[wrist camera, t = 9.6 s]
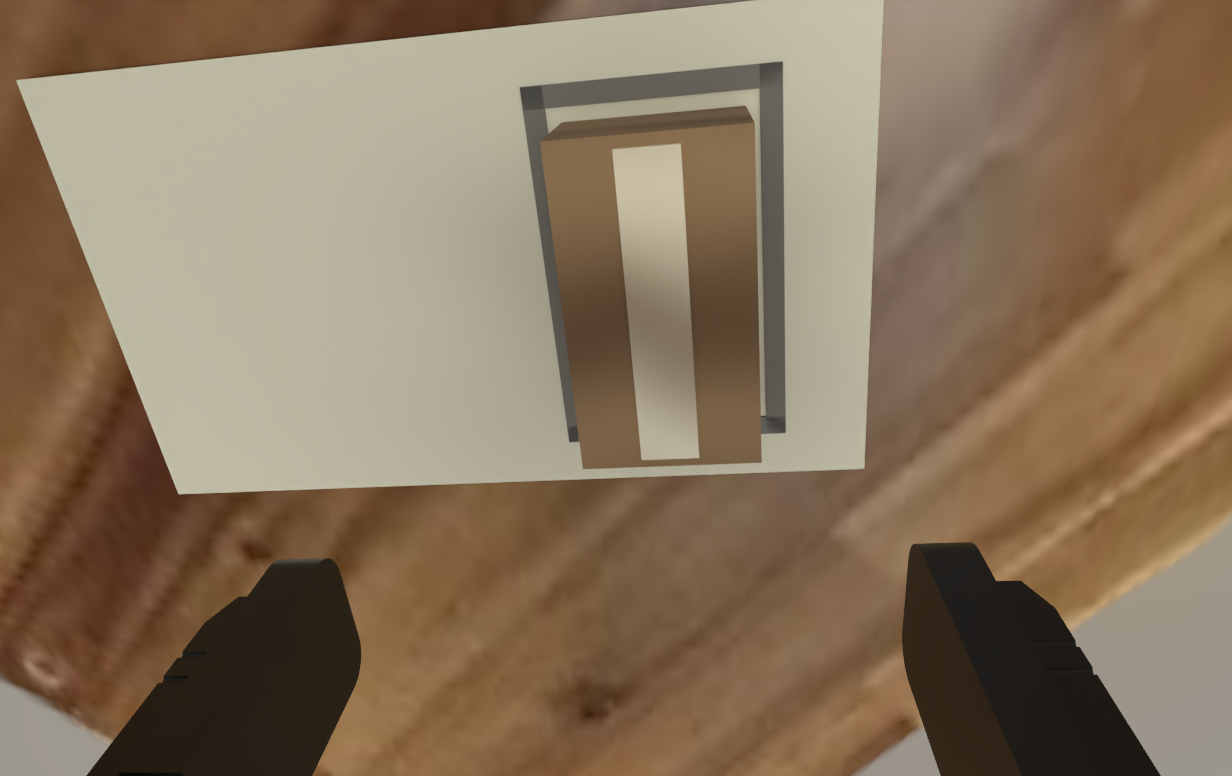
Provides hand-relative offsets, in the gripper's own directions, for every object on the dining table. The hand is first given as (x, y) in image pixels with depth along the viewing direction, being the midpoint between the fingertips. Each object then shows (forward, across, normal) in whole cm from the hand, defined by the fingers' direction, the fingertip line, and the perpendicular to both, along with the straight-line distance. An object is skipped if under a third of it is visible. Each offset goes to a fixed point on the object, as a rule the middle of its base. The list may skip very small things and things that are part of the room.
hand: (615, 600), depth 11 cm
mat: (+14, +6, 0) cm, 16 cm away
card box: (+14, 0, 0) cm, 14 cm away
